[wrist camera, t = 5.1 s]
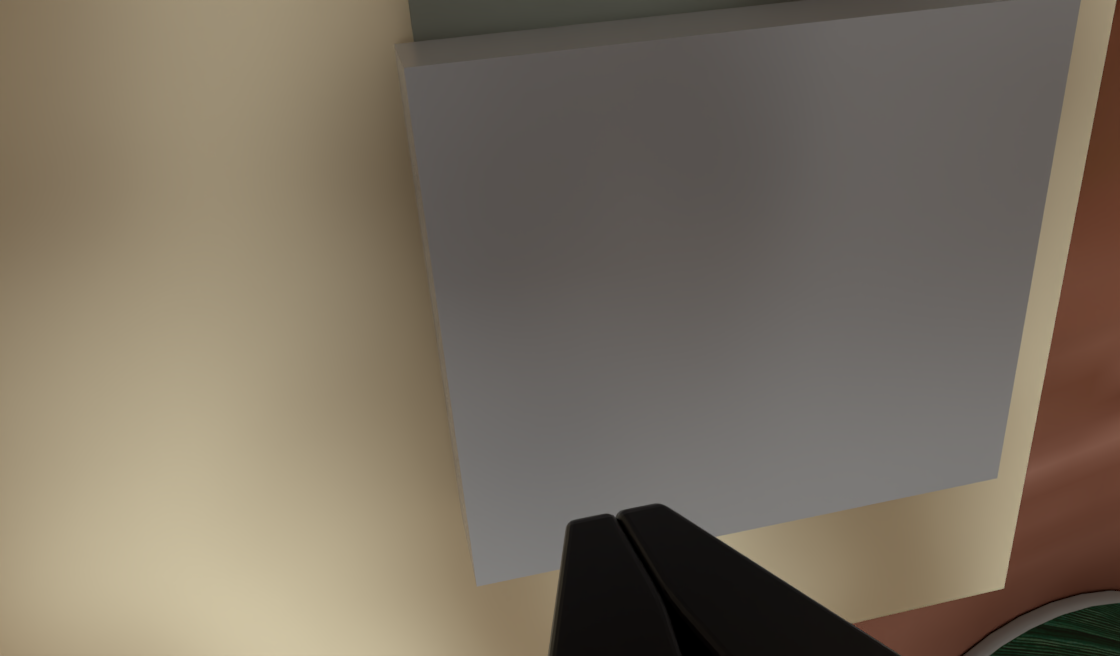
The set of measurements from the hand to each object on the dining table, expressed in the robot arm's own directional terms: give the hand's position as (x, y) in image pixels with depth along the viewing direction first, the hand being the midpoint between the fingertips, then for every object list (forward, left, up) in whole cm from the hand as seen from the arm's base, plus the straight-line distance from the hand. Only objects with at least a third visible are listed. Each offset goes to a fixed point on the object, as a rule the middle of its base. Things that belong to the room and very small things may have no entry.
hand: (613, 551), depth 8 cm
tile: (+1, 0, -5) cm, 5 cm away
